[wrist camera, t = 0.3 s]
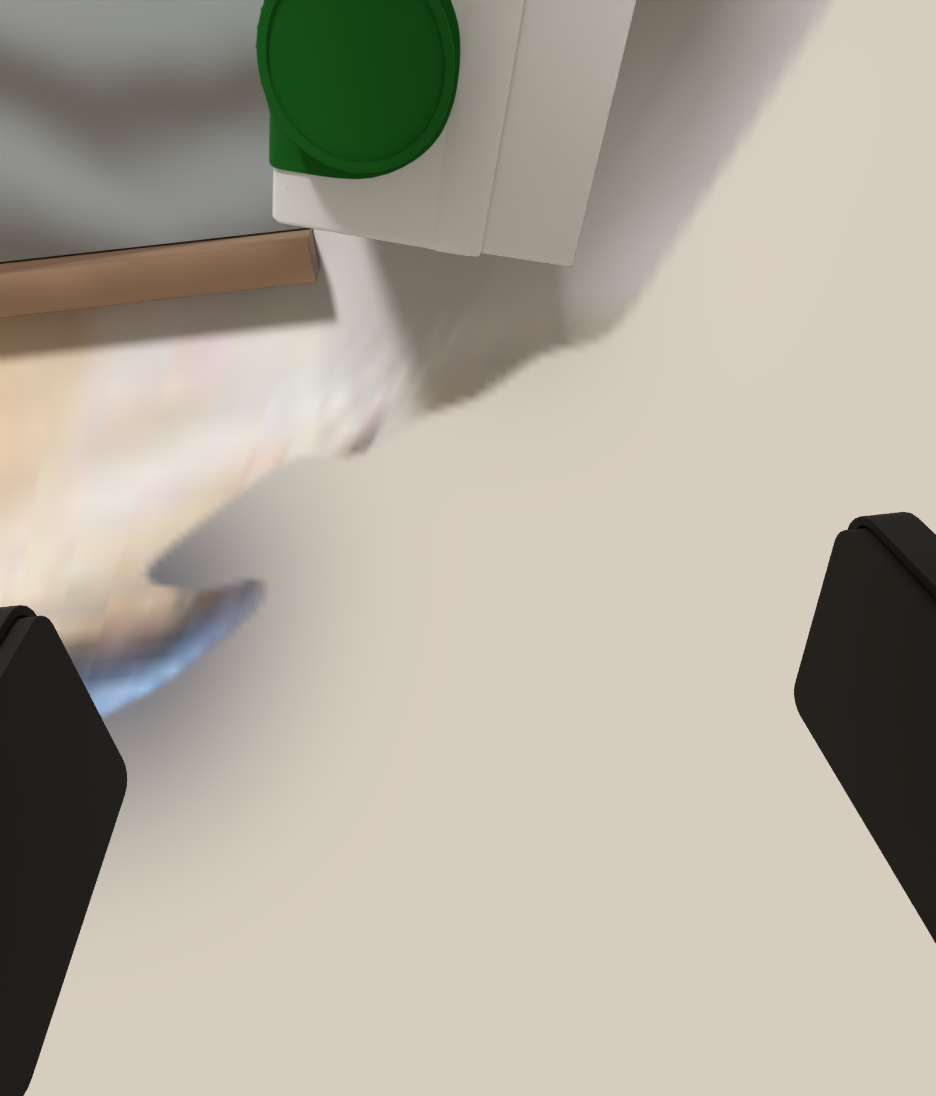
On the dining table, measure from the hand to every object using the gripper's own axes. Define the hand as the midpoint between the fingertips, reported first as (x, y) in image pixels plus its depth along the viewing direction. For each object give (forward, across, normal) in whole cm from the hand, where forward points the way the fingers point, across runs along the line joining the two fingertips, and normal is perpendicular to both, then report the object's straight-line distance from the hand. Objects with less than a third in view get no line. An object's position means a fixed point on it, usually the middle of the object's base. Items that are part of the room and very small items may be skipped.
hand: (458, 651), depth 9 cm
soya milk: (+32, -1, -5) cm, 32 cm away
